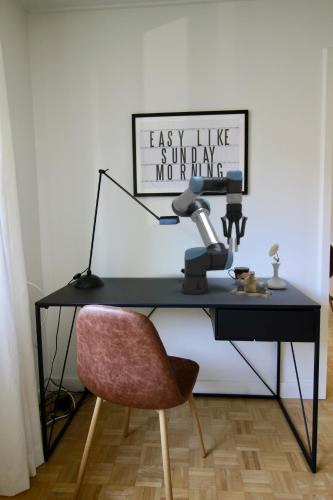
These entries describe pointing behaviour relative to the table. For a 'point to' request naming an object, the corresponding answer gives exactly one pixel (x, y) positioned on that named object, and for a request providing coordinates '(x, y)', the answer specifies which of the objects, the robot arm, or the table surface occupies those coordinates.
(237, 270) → the coffee mug
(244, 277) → the lever
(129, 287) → the table surface
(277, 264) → the flower in vase
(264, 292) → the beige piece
